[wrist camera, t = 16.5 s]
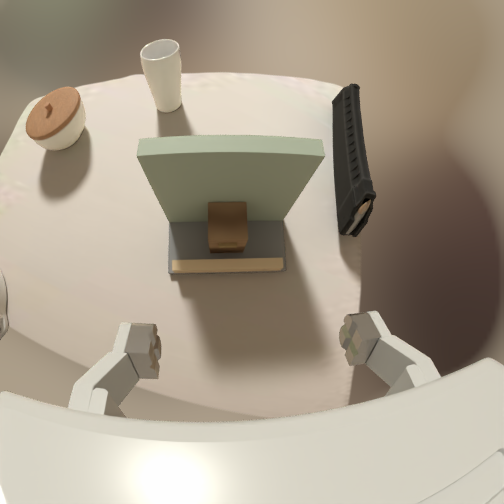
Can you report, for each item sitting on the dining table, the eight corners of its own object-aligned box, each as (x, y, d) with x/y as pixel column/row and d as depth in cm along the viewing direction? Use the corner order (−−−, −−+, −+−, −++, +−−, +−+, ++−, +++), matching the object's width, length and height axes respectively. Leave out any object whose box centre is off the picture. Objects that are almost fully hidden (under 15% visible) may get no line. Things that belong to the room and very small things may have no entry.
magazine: (342, 71, 45) (384, 167, 30) (357, 75, 46) (405, 174, 31) (319, 132, 60) (335, 240, 45) (332, 135, 60) (352, 243, 45)
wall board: (284, 271, 44) (337, 234, 24) (169, 273, 42) (127, 238, 22) (280, 211, 47) (321, 139, 26) (171, 212, 44) (139, 139, 24)
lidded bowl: (102, 111, 48) (86, 77, 37) (79, 161, 45) (55, 130, 34) (59, 113, 47) (40, 84, 36) (36, 160, 44) (11, 133, 33)
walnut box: (243, 255, 43) (248, 242, 35) (210, 256, 43) (208, 243, 35) (241, 221, 44) (246, 202, 37) (209, 222, 44) (208, 202, 36)
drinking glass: (189, 109, 49) (184, 52, 35) (157, 121, 48) (143, 65, 34) (180, 89, 50) (174, 35, 36) (149, 99, 49) (136, 46, 35)
